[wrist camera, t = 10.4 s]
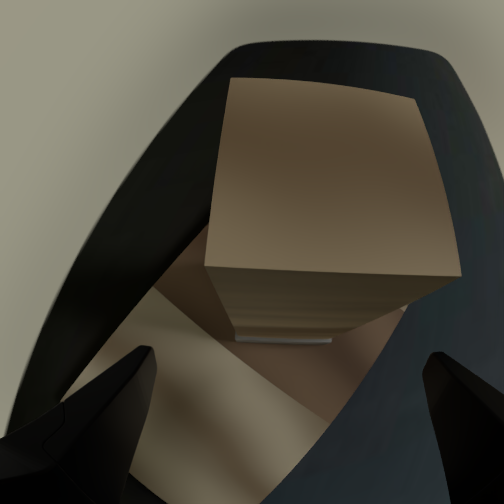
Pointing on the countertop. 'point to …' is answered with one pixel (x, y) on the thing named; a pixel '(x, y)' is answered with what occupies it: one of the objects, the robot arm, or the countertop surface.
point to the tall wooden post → (324, 210)
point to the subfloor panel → (229, 390)
